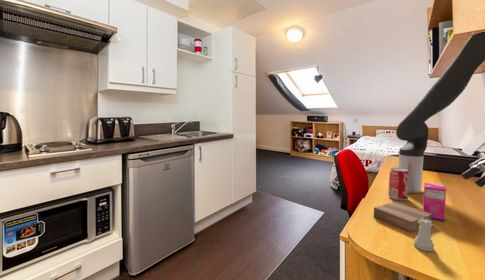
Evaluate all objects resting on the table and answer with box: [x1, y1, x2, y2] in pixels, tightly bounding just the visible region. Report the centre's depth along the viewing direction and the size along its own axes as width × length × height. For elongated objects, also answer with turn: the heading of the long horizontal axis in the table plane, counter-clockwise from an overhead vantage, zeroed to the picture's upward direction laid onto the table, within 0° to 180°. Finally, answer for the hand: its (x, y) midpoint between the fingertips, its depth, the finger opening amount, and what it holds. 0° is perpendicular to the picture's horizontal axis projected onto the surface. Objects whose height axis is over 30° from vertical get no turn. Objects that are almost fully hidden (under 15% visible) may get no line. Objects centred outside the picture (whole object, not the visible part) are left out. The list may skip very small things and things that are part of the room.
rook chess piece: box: [413, 218, 435, 253], centre depth 61 cm, size 4×4×8 cm
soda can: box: [388, 167, 410, 202], centre depth 96 cm, size 7×7×13 cm
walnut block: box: [373, 201, 433, 234], centre depth 76 cm, size 12×12×4 cm
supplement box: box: [422, 182, 447, 222], centre depth 78 cm, size 6×6×12 cm
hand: (469, 180), depth 74 cm, fingers open, 8 cm apart
